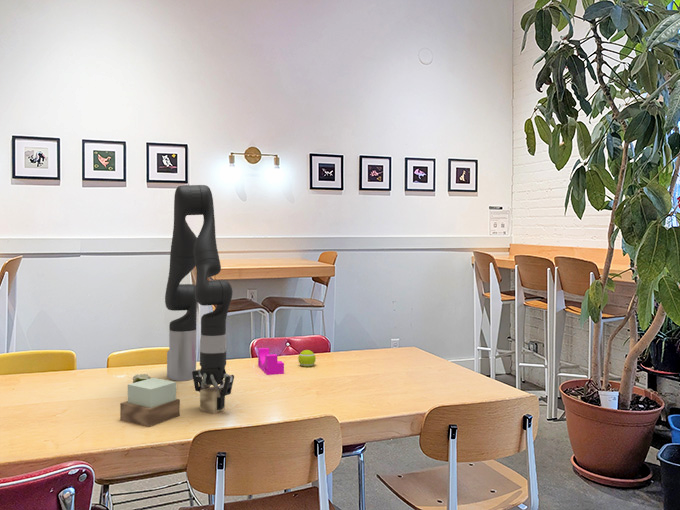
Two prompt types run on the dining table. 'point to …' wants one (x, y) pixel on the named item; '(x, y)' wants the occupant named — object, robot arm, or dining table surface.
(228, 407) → the dining table surface
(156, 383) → the pale green square block
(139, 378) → the fruit
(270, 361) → the toy block
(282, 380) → the dining table surface
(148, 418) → the tower base
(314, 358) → the tennis ball
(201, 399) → the oak block
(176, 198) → the robot arm
